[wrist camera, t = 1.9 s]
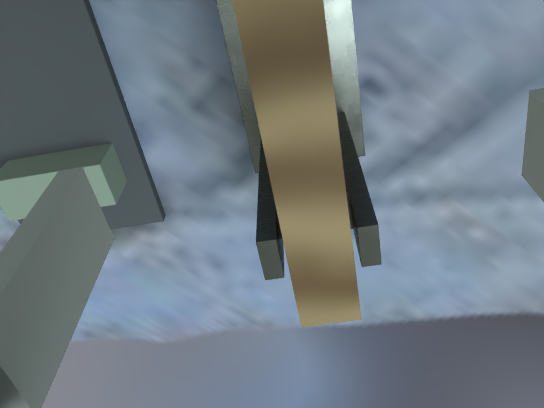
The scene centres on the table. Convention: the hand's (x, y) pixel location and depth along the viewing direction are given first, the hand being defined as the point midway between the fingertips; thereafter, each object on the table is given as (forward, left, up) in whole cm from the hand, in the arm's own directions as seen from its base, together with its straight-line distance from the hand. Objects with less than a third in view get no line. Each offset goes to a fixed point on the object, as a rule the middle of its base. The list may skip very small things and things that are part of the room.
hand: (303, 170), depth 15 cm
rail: (0, 0, -15) cm, 15 cm away
